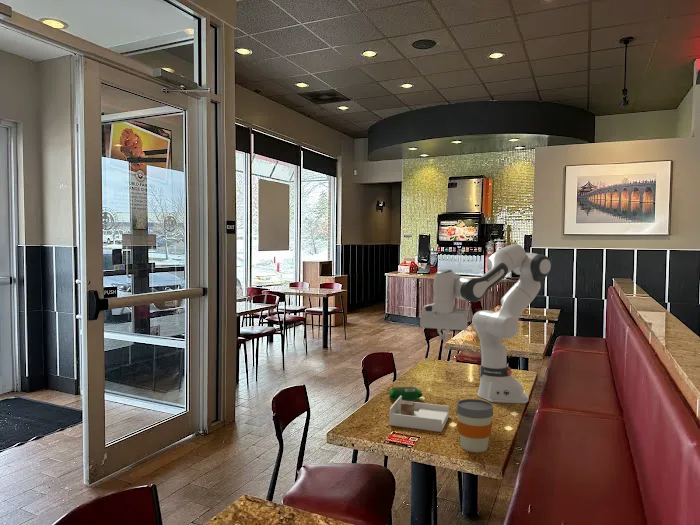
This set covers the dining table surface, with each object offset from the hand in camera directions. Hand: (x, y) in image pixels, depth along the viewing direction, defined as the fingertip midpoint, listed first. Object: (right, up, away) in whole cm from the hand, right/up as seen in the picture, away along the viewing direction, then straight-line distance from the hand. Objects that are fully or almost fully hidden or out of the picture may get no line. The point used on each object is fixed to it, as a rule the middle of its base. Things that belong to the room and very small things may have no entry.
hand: (443, 339), depth 222 cm
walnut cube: (-18, -27, -18) cm, 37 cm away
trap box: (-13, -30, -19) cm, 38 cm away
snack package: (-16, -29, +8) cm, 34 cm away
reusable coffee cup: (+3, -31, -44) cm, 54 cm away
